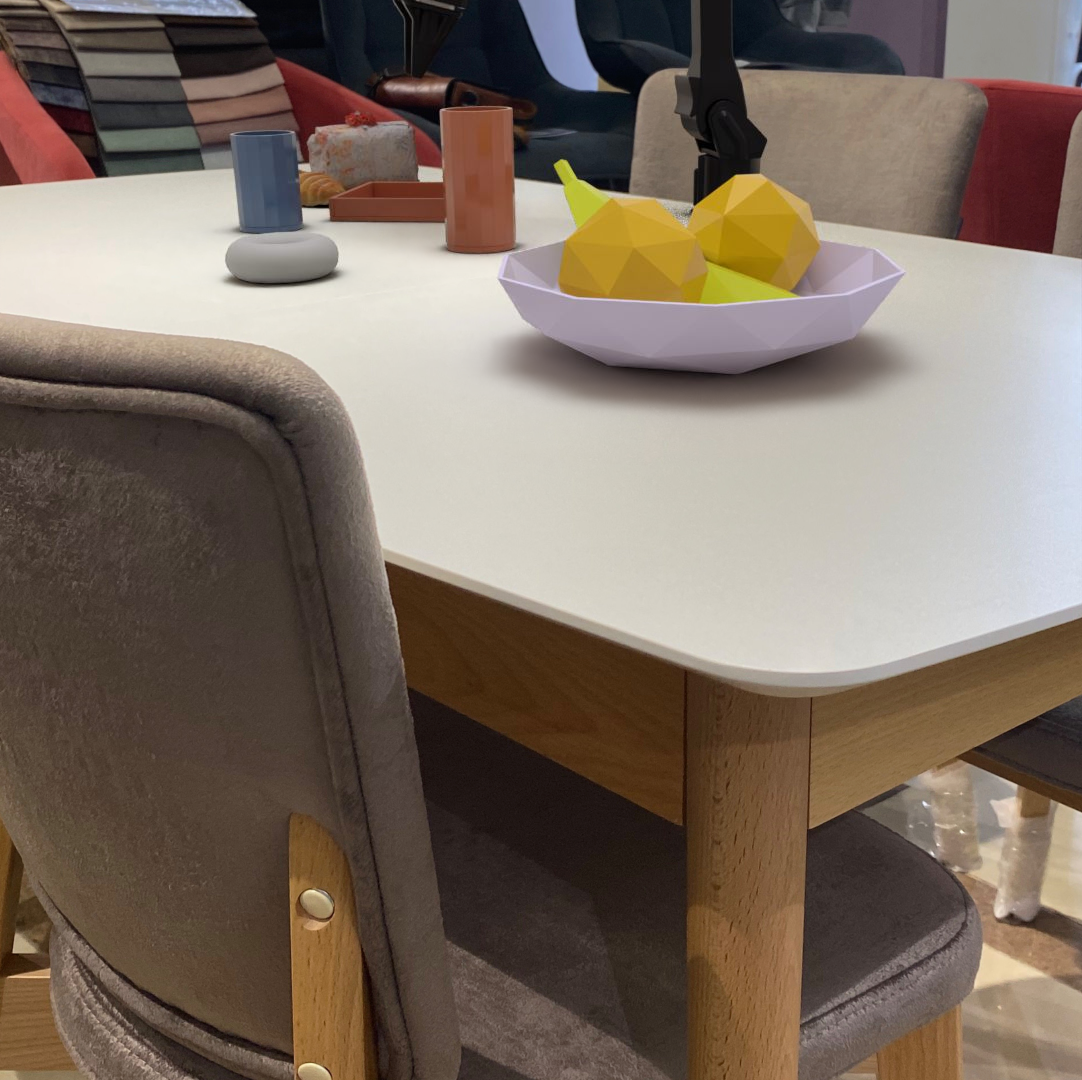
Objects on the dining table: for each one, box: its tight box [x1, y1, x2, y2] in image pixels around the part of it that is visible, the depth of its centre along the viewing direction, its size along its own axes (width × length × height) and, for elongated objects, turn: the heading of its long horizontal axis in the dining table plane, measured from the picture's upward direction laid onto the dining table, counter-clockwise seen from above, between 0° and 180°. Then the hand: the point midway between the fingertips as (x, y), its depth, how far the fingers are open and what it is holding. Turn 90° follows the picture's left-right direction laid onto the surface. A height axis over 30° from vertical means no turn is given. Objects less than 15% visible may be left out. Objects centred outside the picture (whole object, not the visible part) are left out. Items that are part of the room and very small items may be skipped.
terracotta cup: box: [439, 105, 517, 254], centre depth 126 cm, size 7×7×13 cm
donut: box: [224, 231, 340, 284], centre depth 115 cm, size 10×4×10 cm
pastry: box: [299, 169, 345, 207], centre depth 159 cm, size 9×7×4 cm
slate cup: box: [229, 129, 304, 234], centre depth 140 cm, size 7×7×10 cm
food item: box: [306, 110, 421, 191], centre depth 170 cm, size 14×8×10 cm, turn 110°
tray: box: [328, 181, 445, 223], centre depth 151 cm, size 17×15×2 cm
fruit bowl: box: [497, 158, 907, 376], centre depth 87 cm, size 28×27×11 cm
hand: (412, 76), depth 136 cm, fingers open, 9 cm apart
